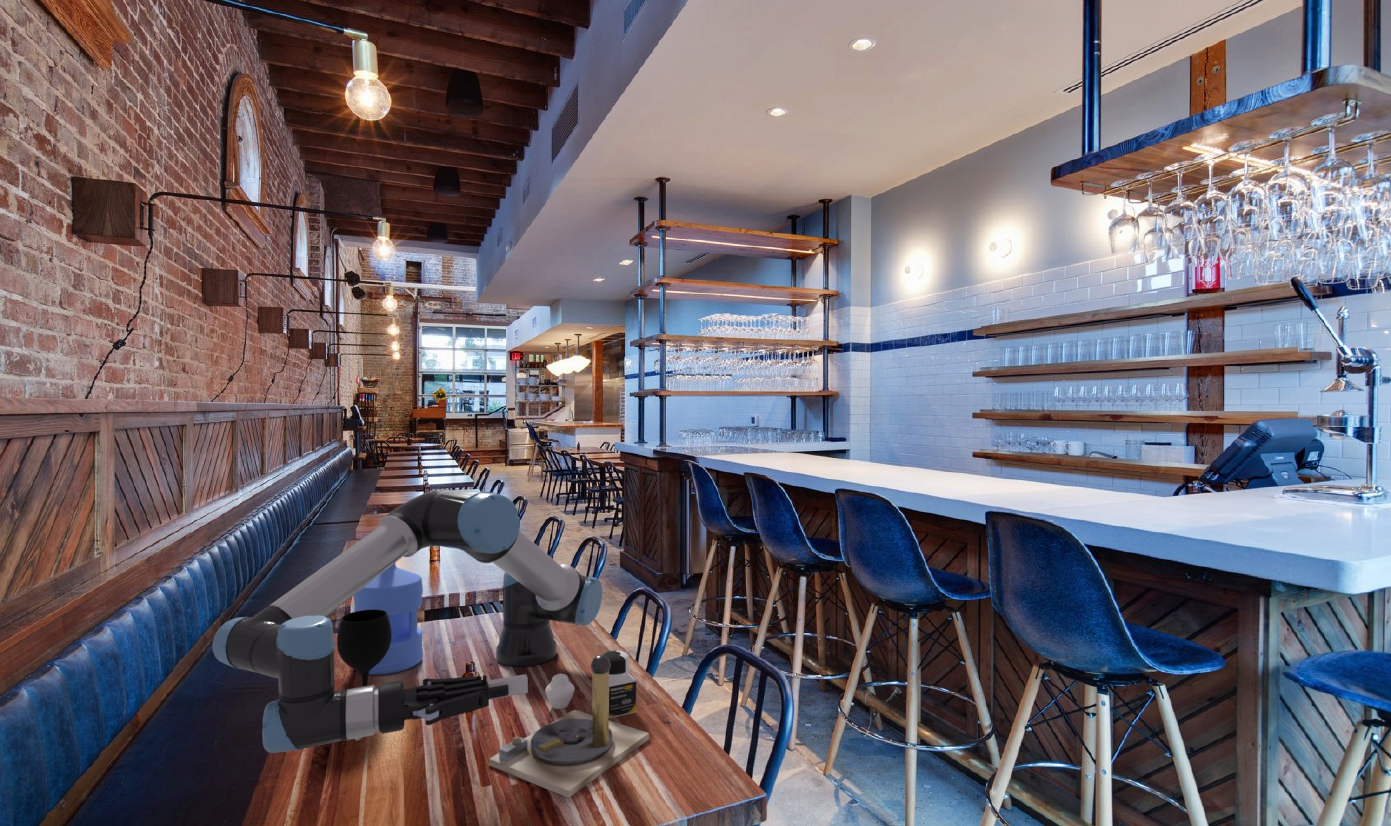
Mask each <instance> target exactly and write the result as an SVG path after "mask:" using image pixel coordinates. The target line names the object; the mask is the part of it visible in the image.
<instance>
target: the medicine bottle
mask: <svg viewBox="0 0 1391 826" xmlns="http://www.w3.org/2000/svg"><path fill="white" fill-rule="evenodd" d="M602 655H604V656H606V657H607V658H608V659H609V660H610V664H611V666H610V670H609V719H613V718H617V717H621V716H626V715H632V714H635V713H636V712H637V679H636V678H635V677H634V676H632V674H631V673H630V655H629V654H628V653H627V652H626V651H622V650H610V651H607V652H605V653H603V654H602Z"/></svg>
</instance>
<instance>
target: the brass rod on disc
mask: <svg viewBox="0 0 1391 826" xmlns="http://www.w3.org/2000/svg"><path fill="white" fill-rule="evenodd" d="M610 666H611V664H610V660H609V659H608V658H607V657H606V656H604V655H603V654H599V655H596V656H595V657H593V659H592V661H591V662H590V668H591V672H592V683H591V684H592V689H591V690H592V691H591V692H592V706H591V707H592V712H591V713H592V714H591V715H592V720H589V719H567V720H561V721H557V722H554V721H553V722H554V723H552V722H550V723H551V724H550V723H549V724H547V725H544V726H542V727H541V728H539V729H538V730H536V731H537V732H536V731H535V732H536V733H535V732H534V733H535V734H534V735H533V737H532V739H531V752H532V754H533V755H534V756H535V757H536V758H537V759H539V760H540V761H543V762H545V763H548V764H553V765H577V764H582V763H587V762H590V761H593V760H595V759H597V758H599V757H601V756H602V755H604V754H605V753H606V752H607V751H608V750H609V749H610V748H611V746H612V732H611V730H610V728H609V721H610V720H609V719H610V718H609V670H610Z"/></svg>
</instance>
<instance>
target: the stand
mask: <svg viewBox="0 0 1391 826" xmlns="http://www.w3.org/2000/svg"><path fill="white" fill-rule="evenodd" d="M567 719H589V720H592V714H590V713H587V712H584V711H580V710H578V709H576V708H575V709H573V710H572V711H569V712H567V713H566V714H564V715H563V716H561V717H559V718H557V719H556V720H553V721H552V722H550V723H549V724H551V723H554V722H557V721H561V720H567ZM609 728H610V730H611V732H612V746H611V748H610V749H609V750H608V751H607V752H606V753H605V754H604V755H602V756H601V757H599V758H597V759H595V760H593V761H590V762H587V763H582V764H577V765H553V764H548V763H545V762H543V761H540V760H539V759H537V758H536V757H535V756H534V755H533V754H532V752H531V739H532V737H533V735H534V734H535V733H536V732H537V731H538V730H536V731H535V732H533V733H531V734H530V735H528V736H526V737H524V738H523V737H521V736H515V737H513V738H512V740H511V741H510V742H509V743H507V744H505V745H503V746H502V747H501V746H500V748H499V749H498V753H496V754H495V755H493V756H491V757H489V758H488V765H489V766H490V767H492V768H494V769H496V770H500V771H502V772H504V773H506V774H510V775H512V776H514V777H515V778H516V777H517V778H519V779H520V780H521V779H522V780H523V781H526V782H529V783H531V784H533V785H536V786H538V787H541V788H543V789H545V790H549V791H550V792H553V793H556V794H559V795H561V796H562V797H565V798H568V799H570V798H571V797H572V796H573V795H575V794H576V793H578V792H579V791H580V790H581V789H583V788H584V787H586V786H587V785H589V784H590V783H591V782H593V781H594V780H595V779H597V778H598V777H600V776H601V775H602V774H604V773H605V772H606V771H608V770H609V769H610V768H612V767H613V766H615V765H616V764H617V763H619V762H620V761H621V760H622V759H624V758H625V757H627V756H628V755H629V754H631V753H632V752H633V751H635V750H637V749H638V748H639V747H640V746H642V745H643V744H644V743H646V742H647V741H648V740H649V739H650V732H647V731H644V730H640V729H637V728H634V727H631V726H627V725H625V724H622V723H618V722H615V721H612V720H609Z"/></svg>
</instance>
